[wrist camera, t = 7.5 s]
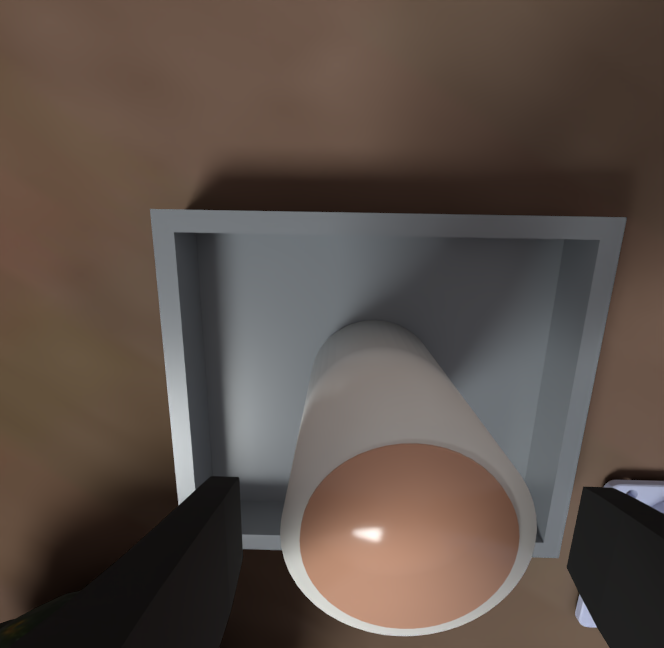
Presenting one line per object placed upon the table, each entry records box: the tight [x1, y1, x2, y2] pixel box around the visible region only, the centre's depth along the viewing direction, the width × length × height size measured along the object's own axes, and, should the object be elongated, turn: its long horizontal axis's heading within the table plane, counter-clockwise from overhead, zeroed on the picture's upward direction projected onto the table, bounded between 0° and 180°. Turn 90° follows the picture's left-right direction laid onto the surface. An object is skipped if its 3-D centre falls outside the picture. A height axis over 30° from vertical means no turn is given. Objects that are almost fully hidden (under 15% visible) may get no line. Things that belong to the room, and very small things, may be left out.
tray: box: [150, 209, 627, 558], centre depth 14 cm, size 15×13×2 cm
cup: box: [280, 320, 537, 636], centre depth 11 cm, size 5×5×8 cm
